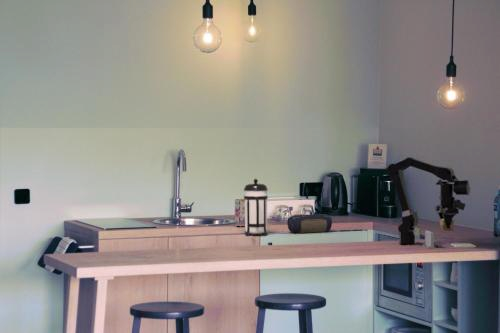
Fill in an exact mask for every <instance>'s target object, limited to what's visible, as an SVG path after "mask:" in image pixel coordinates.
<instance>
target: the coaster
mask: <svg viewBox="0 0 500 333" xmlns="http://www.w3.org/2000/svg"><path fill="white" fill-rule="evenodd" d="M450 246H452V247H454V248H457V249H458V248H459V249H460V248H465V249H466V248H469V249H470V248H477V246H476V245H474V244H472V243H470V242H469V243H464V242H463V243H450Z"/></svg>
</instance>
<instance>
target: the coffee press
mask: <svg viewBox="0 0 500 333" xmlns="http://www.w3.org/2000/svg"><path fill="white" fill-rule="evenodd" d="M243 191H244V195H243V199H245V227H244V234H245V236H246V237H250V236H251V235H252V234H259V235H260V234H262V235H263V236H264V237H267V236H268V235H269V234H268V232H267V231H268V191H269V190H268V187H267V185H266V184H264V183H258V179H257V178H254V179H253V183H248V184H246V185H245V186H244V188H243Z"/></svg>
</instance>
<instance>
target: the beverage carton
mask: <svg viewBox="0 0 500 333" xmlns="http://www.w3.org/2000/svg"><path fill="white" fill-rule="evenodd" d="M401 224H402V223H398V227H399V226H400V225H401ZM414 235H415V240H417V239H418V240H420V239H421V228H420V227H419V226H418V225H417V226H416V227H415V229H414Z"/></svg>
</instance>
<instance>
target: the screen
mask: <svg viewBox="0 0 500 333" xmlns="http://www.w3.org/2000/svg"><path fill="white" fill-rule="evenodd" d="M434 236H435V235H434V232H432V231H430V230H424V243H423V246H424V245H426V247H428V249H436V246H435V245H434V240H435V238H434Z"/></svg>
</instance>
